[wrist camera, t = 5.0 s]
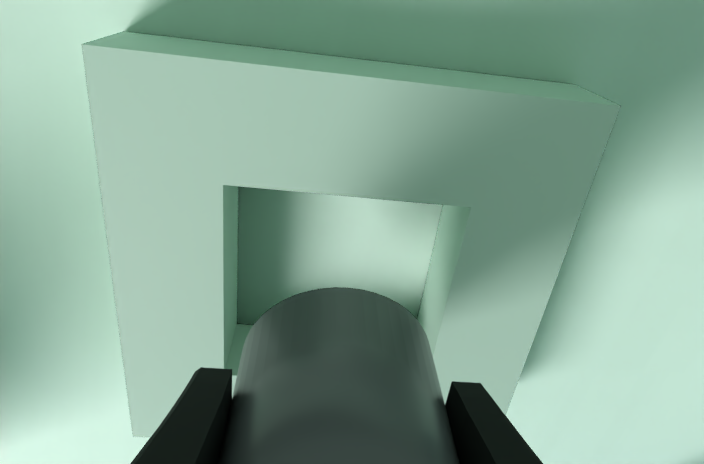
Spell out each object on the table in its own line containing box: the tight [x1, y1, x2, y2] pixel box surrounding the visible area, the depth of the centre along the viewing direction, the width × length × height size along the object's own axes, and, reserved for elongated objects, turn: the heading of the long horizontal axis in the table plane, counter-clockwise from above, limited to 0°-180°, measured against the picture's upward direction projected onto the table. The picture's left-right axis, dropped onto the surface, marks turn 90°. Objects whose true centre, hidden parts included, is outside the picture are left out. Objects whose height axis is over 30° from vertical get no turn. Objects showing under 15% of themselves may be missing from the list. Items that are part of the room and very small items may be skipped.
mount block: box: [82, 31, 621, 437], centre depth 15 cm, size 12×12×2 cm
